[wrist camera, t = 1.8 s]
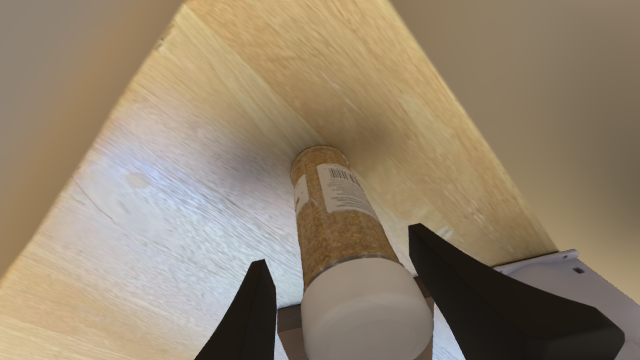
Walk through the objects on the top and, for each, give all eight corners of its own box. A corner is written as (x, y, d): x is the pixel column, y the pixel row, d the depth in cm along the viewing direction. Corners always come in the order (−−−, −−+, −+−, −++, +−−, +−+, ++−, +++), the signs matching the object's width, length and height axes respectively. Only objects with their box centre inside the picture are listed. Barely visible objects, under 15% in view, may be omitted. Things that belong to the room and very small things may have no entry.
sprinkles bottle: (278, 171, 20) (274, 357, 9) (324, 130, 19) (391, 277, 8) (318, 207, 22) (359, 399, 11) (361, 172, 21) (462, 340, 10)
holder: (422, 275, 28) (434, 296, 26) (422, 361, 35) (431, 382, 33) (277, 309, 27) (277, 333, 25) (308, 388, 35) (310, 412, 33)
